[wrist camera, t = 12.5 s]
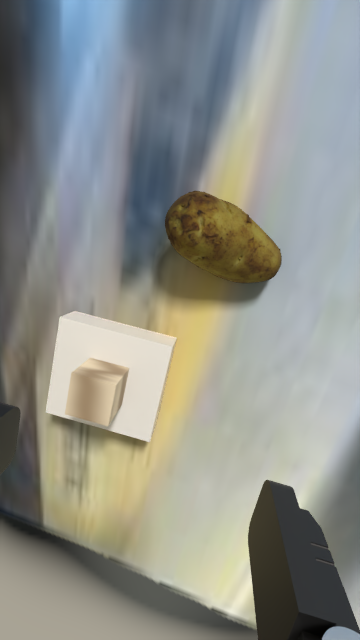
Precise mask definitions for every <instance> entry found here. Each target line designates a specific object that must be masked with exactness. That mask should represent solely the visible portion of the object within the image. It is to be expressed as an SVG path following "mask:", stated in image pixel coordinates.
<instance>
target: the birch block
mask: <svg viewBox="0 0 360 640" xmlns="http://www.w3.org/2000/svg"><path fill="white" fill-rule="evenodd" d="M128 373H129V368H128V367H124V366H120V365H116V364H113V363H109V362H105V361H101V360H97V359H94V358H89V359H88V360H87V361H85V362H84V363H83V364H82V365H80V366H79V367H78V368H77V369H75V370H74V371H73V372H72V373H71V378H70V384H69V390H68V397H67V403H66V409H65V414H66V415H69V416H73V417H76V418H80V419H84V420H87V421H91V422H94V423H98V424H101V425H105V426H109V424H110V423H111V421H112V420H113V418H114V416H115V415H116V413H117V412H118V410H119V409H120V407H121V405H122V402H123V397H124V392H125V387H126V382H127V378H128Z"/></svg>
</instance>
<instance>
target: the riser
mask: <svg viewBox="0 0 360 640" xmlns="http://www.w3.org/2000/svg"><path fill="white" fill-rule="evenodd" d="M176 340H177V338H176V337H172V336H168V335H164V334H161V333H157V332H153V331H149V330H145V329H141V328H138V327H134V326H130V325H126V324H122V323H119V322H115V321H111V320H107V319H103V318H100V317H96V316H92V315H88V314H84V313H80V312H77V311H74V312H71V313H69V314H66V315H64V316H61V317H60V320H59V326H58V333H57V340H56V347H55V353H54V360H53V367H52V373H51V380H50V387H49V394H48V400H47V407H46V413H50V414H53V415H57V416H60V417H64V418H67V419H71V420H74V421H78V422H81V423H85V424H88V425H91V426H95V427H98V428H102V429H105V430H109V431H112V432H116V433H119V434H123V435H126V436H130V437H133V438H137V439H140V440H144V441H147V442H150V440H151V437H152V434H153V432H154V429H155V426H156V423H157V418H158V414H159V410H160V406H161V402H162V398H163V394H164V390H165V385H166V381H167V377H168V373H169V369H170V365H171V361H172V357H173V353H174V348H175V344H176ZM89 358H94V359H97V360H101V361H105V362H109V363H113V364H116V365H120V366H124V367H128V368H129V373H128V378H127V382H126V387H125V392H124V397H123V402H122V405H121V407H120V409H119V410H118V412H117V413H116V415H115V416H114V418H113V420H112V421H111V423H110V424H109V426H105V425H101V424H98V423H94V422H91V421H87V420H84V419H80V418H76V417H73V416H69V415H66V414H65V409H66V403H67V397H68V390H69V384H70V378H71V373H72V372H73V371H74V370H75V369H77V368H78V367H79V366H80V365H82V364H83V363H84V362H85V361H87V360H88V359H89Z"/></svg>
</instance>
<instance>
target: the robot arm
mask: <svg viewBox="0 0 360 640" xmlns="http://www.w3.org/2000/svg"><path fill="white" fill-rule="evenodd" d="M19 421H20V409H19V408H18V407H15V406H12V405H8V404H5V403H1V402H0V474H1V473H2V472H3V471H4V470H5V469H6V468H7V467H8V466H9V464H10V462H11V461H12V459H13V457H14V454H15V451H16V445H17V437H18V429H19ZM248 546H249V556H250V565H251V575H252V584H253V594H254V604H255V613H256V623H257V632H258V640H360V630H359V627H358V625H357V622H356V619H355V617H354V614H353V611H352V609H351V606H350V603H349V601H348V598H347V595H346V593H345V590H344V587H343V585H342V582H341V579H340V577H339V574H338V572H337V569H336V567H334V561H333V558H332V556H331V553H330V551H329V550H328V545H327V542H326V540H325V537H324V534H323V532H322V529H321V527H320V526H319V525H318V523H317V522H316V521H315V519H314V518H313V517H312V515H311V514H310V513H309V511H307V510H303V509H300V508H299V505H298V502H297V499H296V496H295V492H294V490H293V488H292V487H290V486H287V485H283V484H280V483H276V482H273V481H269V480H266V481H265V482H264V484H263V487H262V489H261V492H260V495H259V498H258V501H257V504H256V507H255V509H254V512H253V515H252V518H251V521H250V526H249V533H248Z"/></svg>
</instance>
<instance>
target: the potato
mask: <svg viewBox="0 0 360 640" xmlns="http://www.w3.org/2000/svg"><path fill="white" fill-rule="evenodd" d="M165 227H166V232H167V235H168V239H169V240H170V242H171V244H172V245H173V247H174V248H175V250H176V251H177V252H178V253H179V254H180V255H181V256H183V257H184V258H186V259H187V260H189V261H190V262H192V263H193V264H195V265H196V266H198V267H200V268H202V269H204V270H206V271H208V272H210V273H212V274H214V275H216V276H218V277H221V278H224V279H227V280H230V281H233V282H239V283H252V282H262V281H267V280H269V279H271V278H273V277H274V276H275V275H276V273H277V272H278V270H279V268H280V266H281V253H280V249H279V248H278V247H277V245H276V244H275V243H274V242H273V240H272V239H271V238H270V237H269V236H268V235H267V234H266V233H265V232H264V231H263V230H262V229H261V228H260V227H259V226H258V225H257V224H256V223H255V222H254V221H253V220H252V219H251V218H250V217H249V215H248V214H246V213H245V212H243V211H242V210H241V209H240V208H238V207H237V206H235V205H233V204H231V203H229V202H226V201H223V200H220V199H218V198H216V197H214V196H212V195H210V194H207V193H205V192H200V191H193V192H189V193H187V194H185V195H183V196H181V197H180V198H179V199H177V200H176V201H175V202H174V203H173V205H172V206H171V207H170V209H169V210H168V212H167V215H166V219H165Z"/></svg>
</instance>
